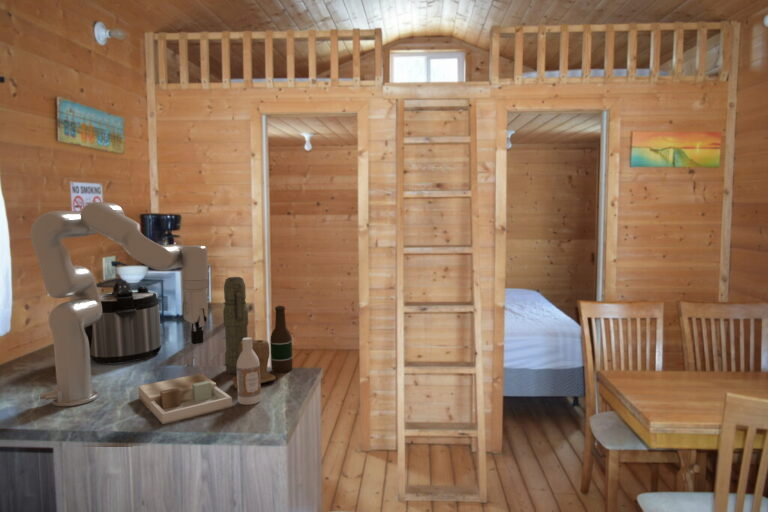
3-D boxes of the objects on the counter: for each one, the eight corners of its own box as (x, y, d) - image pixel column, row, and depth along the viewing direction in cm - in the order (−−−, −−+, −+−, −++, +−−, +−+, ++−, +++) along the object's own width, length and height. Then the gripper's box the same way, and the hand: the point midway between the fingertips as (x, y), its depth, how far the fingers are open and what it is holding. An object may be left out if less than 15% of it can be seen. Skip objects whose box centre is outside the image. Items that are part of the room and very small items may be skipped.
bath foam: (242, 407, 155) (239, 342, 154) (235, 400, 161) (232, 337, 160) (264, 402, 159) (261, 338, 158) (256, 395, 165) (254, 334, 163)
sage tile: (192, 399, 161) (195, 401, 159) (192, 384, 161) (194, 386, 159) (208, 395, 164) (211, 398, 162) (208, 380, 164) (210, 382, 162)
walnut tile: (161, 407, 155) (163, 409, 153) (160, 391, 155) (162, 393, 153) (178, 403, 158) (180, 405, 156) (177, 387, 158) (180, 389, 156)
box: (163, 424, 143) (162, 414, 143) (150, 411, 153) (150, 401, 153) (232, 407, 156) (231, 397, 156) (216, 395, 166) (216, 386, 166)
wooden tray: (150, 411, 154) (149, 398, 153) (139, 398, 164) (138, 386, 164) (216, 395, 166) (216, 383, 166) (201, 384, 177) (201, 373, 177)
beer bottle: (283, 365, 198) (281, 303, 196) (296, 369, 193) (295, 306, 191) (267, 370, 192) (264, 306, 190) (280, 374, 187) (278, 309, 185)
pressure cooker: (113, 347, 230) (109, 276, 227) (175, 347, 228) (171, 276, 226) (68, 367, 200) (63, 286, 197) (138, 367, 198) (134, 286, 196)
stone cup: (265, 374, 187) (264, 334, 186) (279, 383, 177) (278, 340, 176) (224, 383, 178) (222, 340, 177) (237, 392, 168) (235, 347, 167)
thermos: (233, 376, 185) (229, 280, 182) (220, 369, 194) (216, 277, 191) (256, 371, 190) (252, 278, 187) (242, 364, 200) (239, 275, 197)
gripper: (175, 283, 163) (177, 340, 165) (191, 289, 152) (193, 350, 153) (199, 281, 168) (201, 336, 169) (216, 286, 156) (217, 346, 158)
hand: (197, 342), depth 161 cm, fingers closed
